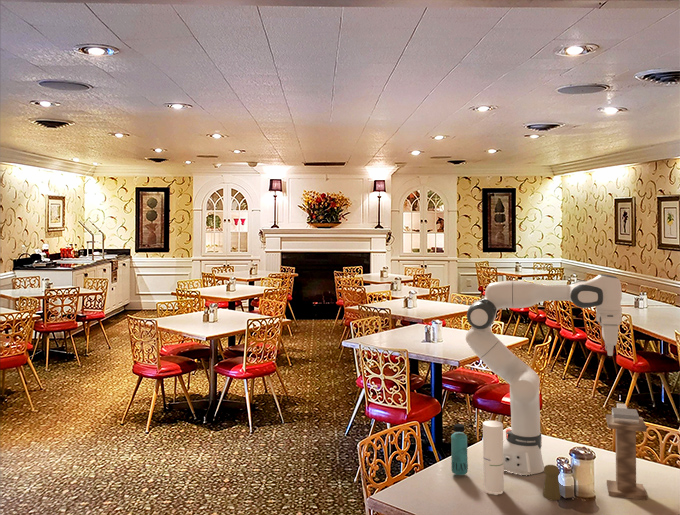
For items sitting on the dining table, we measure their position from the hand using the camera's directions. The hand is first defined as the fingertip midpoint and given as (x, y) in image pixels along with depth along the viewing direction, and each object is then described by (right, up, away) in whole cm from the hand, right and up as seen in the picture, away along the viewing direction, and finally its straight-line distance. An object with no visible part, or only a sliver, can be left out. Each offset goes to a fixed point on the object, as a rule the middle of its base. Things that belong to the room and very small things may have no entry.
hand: (609, 353), depth 217 cm
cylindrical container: (-46, -50, -8) cm, 68 cm away
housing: (+2, -22, -6) cm, 23 cm away
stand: (+1, -48, -11) cm, 50 cm away
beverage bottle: (-56, -49, +6) cm, 75 cm away
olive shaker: (-27, -49, -13) cm, 58 cm away
